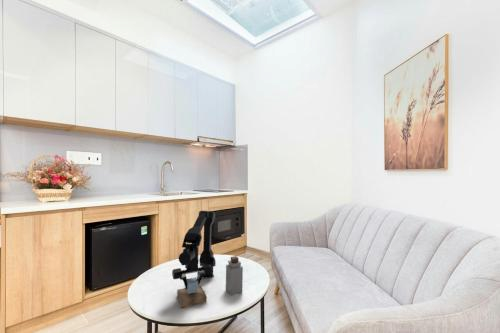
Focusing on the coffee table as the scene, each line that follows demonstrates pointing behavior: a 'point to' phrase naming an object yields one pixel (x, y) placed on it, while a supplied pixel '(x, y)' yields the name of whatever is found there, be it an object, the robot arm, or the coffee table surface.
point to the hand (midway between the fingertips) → (191, 288)
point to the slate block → (192, 285)
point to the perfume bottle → (234, 276)
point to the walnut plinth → (191, 297)
